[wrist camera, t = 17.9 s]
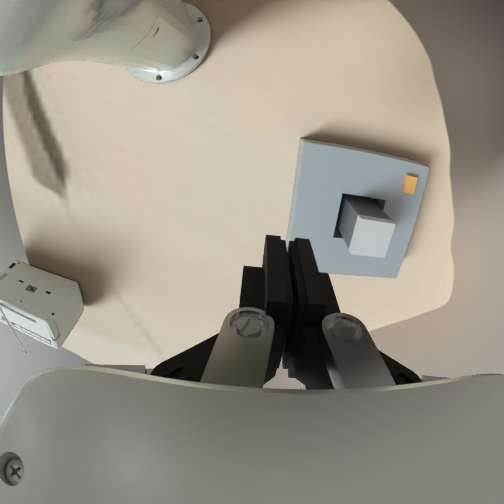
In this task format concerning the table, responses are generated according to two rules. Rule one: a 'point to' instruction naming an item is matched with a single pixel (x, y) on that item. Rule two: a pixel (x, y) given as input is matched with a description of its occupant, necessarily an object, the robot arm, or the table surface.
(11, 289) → the stereo radio cassette player
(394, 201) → the socket
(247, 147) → the table surface
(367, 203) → the plug
